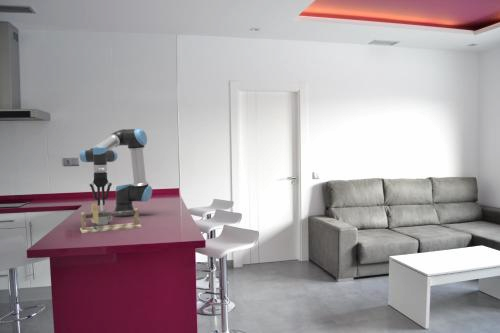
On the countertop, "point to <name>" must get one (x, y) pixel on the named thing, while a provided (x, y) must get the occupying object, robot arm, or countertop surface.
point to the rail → (110, 227)
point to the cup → (104, 218)
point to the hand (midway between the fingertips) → (101, 210)
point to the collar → (95, 213)
